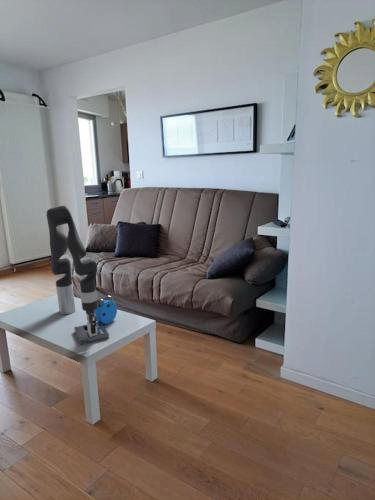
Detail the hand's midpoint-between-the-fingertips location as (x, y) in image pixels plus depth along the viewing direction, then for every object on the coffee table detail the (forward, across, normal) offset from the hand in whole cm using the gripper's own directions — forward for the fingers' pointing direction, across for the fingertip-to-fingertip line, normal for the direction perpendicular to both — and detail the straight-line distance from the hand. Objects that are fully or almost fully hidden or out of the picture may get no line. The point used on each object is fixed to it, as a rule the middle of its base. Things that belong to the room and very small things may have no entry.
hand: (92, 331), depth 173 cm
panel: (+4, -4, 0) cm, 6 cm away
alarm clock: (+4, -17, +11) cm, 20 cm away
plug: (+3, 0, 0) cm, 3 cm away
